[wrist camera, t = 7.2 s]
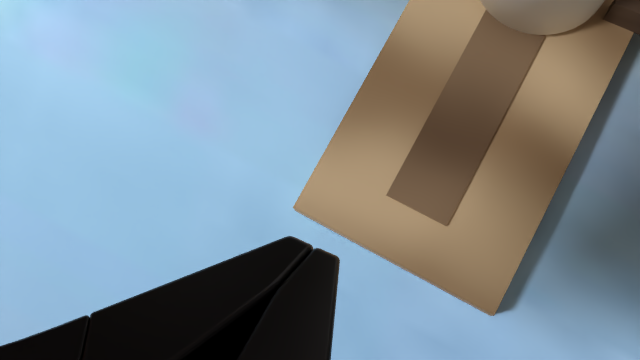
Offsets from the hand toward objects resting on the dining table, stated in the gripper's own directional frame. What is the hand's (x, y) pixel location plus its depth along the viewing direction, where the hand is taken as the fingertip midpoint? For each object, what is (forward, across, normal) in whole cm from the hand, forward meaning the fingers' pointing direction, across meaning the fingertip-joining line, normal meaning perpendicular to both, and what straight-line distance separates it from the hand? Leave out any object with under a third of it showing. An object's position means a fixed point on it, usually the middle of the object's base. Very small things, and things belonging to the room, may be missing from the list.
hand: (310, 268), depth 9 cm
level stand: (+19, -1, -1) cm, 19 cm away
